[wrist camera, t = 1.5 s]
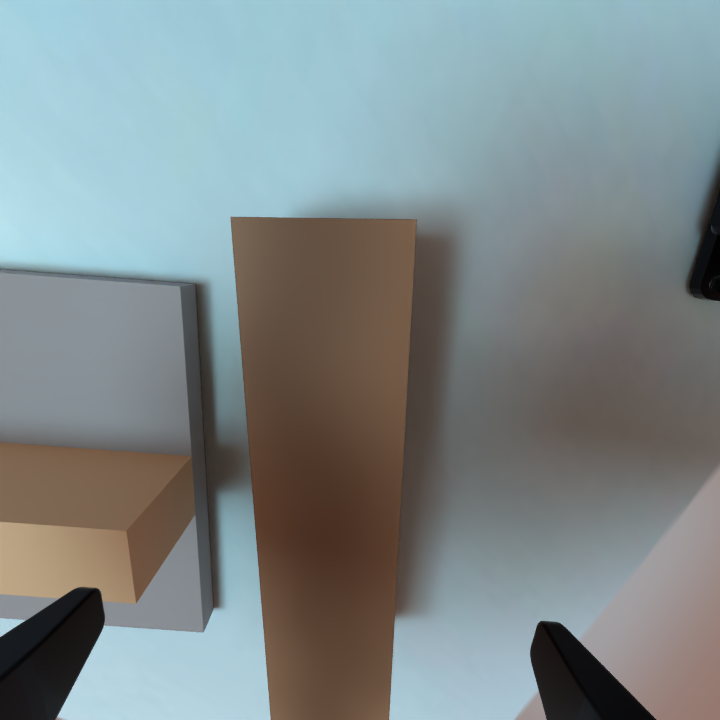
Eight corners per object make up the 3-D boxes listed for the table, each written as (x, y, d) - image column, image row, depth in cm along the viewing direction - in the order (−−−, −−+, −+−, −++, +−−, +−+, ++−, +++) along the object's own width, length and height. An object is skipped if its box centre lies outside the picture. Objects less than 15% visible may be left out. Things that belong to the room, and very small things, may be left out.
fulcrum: (195, 283, 12) (95, 300, 7) (213, 609, 16) (155, 744, 11) (-111, 260, 12) (-392, 263, 7) (-16, 593, 16) (-163, 722, 11)
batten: (399, 232, 11) (416, 219, 8) (383, 612, 16) (388, 724, 12) (275, 230, 12) (230, 216, 8) (293, 609, 16) (271, 721, 12)
